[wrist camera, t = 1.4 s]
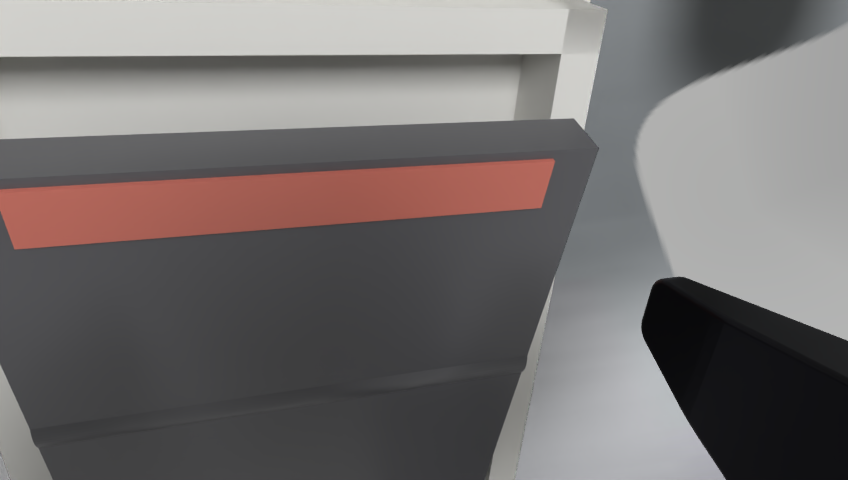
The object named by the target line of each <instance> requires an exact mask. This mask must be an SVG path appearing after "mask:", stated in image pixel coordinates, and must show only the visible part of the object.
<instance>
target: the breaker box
mask: <svg viewBox="0 0 848 480" xmlns="http://www.w3.org/2000/svg"><path fill="white" fill-rule="evenodd" d="M607 12H608V10H607V9H604V8H602V7H599V6H597V5H594V4H591V3H590V0H0V139H22V138H49V137H77V136H104V135H131V134H159V133H186V132H214V131H241V130H268V129H296V128H323V127H350V126H378V125H405V124H432V123H460V122H487V121H515V120H542V119H569V118H574V119H575V120H576V121H577V123H578V124H579V125H580V126H581V127H582V129H583V130H584V128H585V123H586V118H587V113H588V108H589V103H590V98H591V93H592V88H593V83H594V78H595V72H596V67H597V62H598V57H599V52H600V47H601V42H602V37H603V32H604V27H605V22H606V17H607ZM554 279H555V277H554ZM553 284H554V280H553V283H552V286H551V288H550V291H549V294H548V297H547V300H546V303H545V306H544V309H543V312H542V314H541V317H540V320H539V323H538V326H537V329H536V332H535V335H534V338H533V341H532V343H531V346H530V349H529V352H528V355H527V364H526V367H525V370H524V371H523V372H521V375H520V378H519V381H518V384H517V387H516V390H515V393H514V396H513V398H512V401H511V404H510V407H509V410H508V413H507V416H506V419H505V422H504V424H503V427H502V430H501V433H500V436H499V439H498V442H497V445H496V448H495V450H494V453H493V456H492V459H491V462H490V465H489V468H488V471H487V474H486V477H485V479H484V480H515V475H516V470H517V465H518V460H519V455H520V450H521V445H522V440H523V435H524V430H525V425H526V420H527V415H528V410H529V405H530V400H531V395H532V390H533V385H534V380H535V375H536V370H537V365H538V360H539V355H540V350H541V344H542V339H543V334H544V329H545V324H546V319H547V314H548V309H549V304H550V299H551V294H552V289H553ZM0 452H1V455H2V458H3V461H4V463H5V466H6V469H7V472H8V475H9V478H10V480H53V479H52V477H51V475H50V472H49V470H48V468H47V466H46V464H45V461H44V459H43V457H42V455H41V453H40V450H39V448H37V447H36V446H35V445H34V443H33V440H32V437H31V433H30V429H29V426H28V424H27V422H26V420H25V418H24V415H23V413H22V411H21V409H20V407H19V404H18V402H17V400H16V398H15V396H14V394H13V391H12V389H11V387H10V385H9V383H8V380H7V378H6V376H5V374H4V372H3V369H2V367H1V365H0Z"/></svg>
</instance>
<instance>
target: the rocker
mask: <svg viewBox="0 0 848 480" xmlns="http://www.w3.org/2000/svg"><path fill="white" fill-rule="evenodd" d="M598 150H599V147H598V146H597V145H596V144H595V143H594V142H593V140H592V139H591V138H590V137H589V136H588V134H587V133H586V132H585V131H584V130H583V129H582V127H581V126H580V125H579V124H578V123H577V121H576V120H575V119H574V118H569V119H542V120H515V121H487V122H460V123H432V124H405V125H378V126H350V127H323V128H296V129H268V130H241V131H214V132H186V133H159V134H131V135H104V136H77V137H49V138H22V139H0V365H1V367H2V369H3V372H4V374H5V376H6V378H7V380H8V383H9V385H10V387H11V389H12V391H13V394H14V396H15V398H16V400H17V402H18V404H19V407H20V409H21V411H22V413H23V415H24V418H25V420H26V422H27V424H28V426H29V429H30V433H31V437H32V440H33V443H34V445H35V446H36V447H37V448H39V450H40V453H41V455H42V457H43V459H44V461H45V464H46V466H47V468H48V470H49V472H50V475H51V477H52V479H53V480H484V479H485V477H486V474H487V471H488V468H489V465H490V462H491V459H492V456H493V453H494V450H495V448H496V445H497V442H498V439H499V436H500V433H501V430H502V427H503V424H504V422H505V419H506V416H507V413H508V410H509V407H510V404H511V401H512V398H513V396H514V393H515V390H516V387H517V384H518V381H519V378H520V375H521V372H523V371H524V370H525V367H526V364H527V355H528V352H529V349H530V346H531V343H532V341H533V338H534V335H535V332H536V329H537V326H538V323H539V320H540V317H541V314H542V312H543V309H544V306H545V303H546V300H547V297H548V294H549V291H550V288H551V286H552V283H553V280H554V277H555V274H556V271H557V268H558V265H559V262H560V260H561V257H562V254H563V251H564V248H565V245H566V242H567V239H568V236H569V233H570V231H571V228H572V225H573V222H574V219H575V216H576V213H577V210H578V207H579V205H580V202H581V199H582V196H583V193H584V190H585V187H586V184H587V181H588V178H589V176H590V173H591V170H592V167H593V164H594V161H595V158H596V155H597V152H598Z"/></svg>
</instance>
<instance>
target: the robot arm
mask: <svg viewBox="0 0 848 480" xmlns="http://www.w3.org/2000/svg"><path fill="white" fill-rule="evenodd" d="M641 329H642V334H643V338H644V340H645V342H646V344H647V346H648V347H649V349H650V351H651V353H652V355H653V357H654V359H655V361H656V363H657V364H658V366H659V368H660V370H661V372H662V374H663V376H664V378H665V380H666V382H667V383H668V385H669V387H670V389H671V391H672V393H673V395H674V397H675V399H676V400H677V402H678V404H679V406H680V408H681V410H682V412H683V413H684V415H685V417H686V419H687V420H688V422H689V424H690V425H691V427H692V428H693V430H694V432H695V433H696V435H697V436H698V438H699V439H700V441H701V442H702V444H703V445H704V447H705V448H706V450H707V451H708V453H709V455H710V456H711V458H712V459H713V461H714V462H715V464H716V465H717V467H718V468H719V470H720V471H721V473H722V474H723V476H724V477H725V479H726V480H848V341H847V340H844V339H842V338H839V337H836V336H834V335H831V334H829V333H826V332H824V331H821V330H819V329H816V328H813V327H811V326H808V325H806V324H803V323H800V322H798V321H795V320H793V319H790V318H788V317H785V316H783V315H780V314H777V313H775V312H772V311H770V310H767V309H764V308H762V307H759V306H757V305H754V304H752V303H749V302H747V301H744V300H741V299H739V298H736V297H733V296H731V295H729V294H726V293H723V292H721V291H718V290H716V289H713V288H710V287H708V286H705V285H703V284H700V283H698V282H695V281H693V280H690V279H687V278H684V277H672V278H664V279H660V280H658V281H656V282H655V283H654V285H653V286H652V289H651V292H650V296H649V299H648V302H647V306H646V309H645V312H644V316H643V319H642V325H641Z"/></svg>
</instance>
